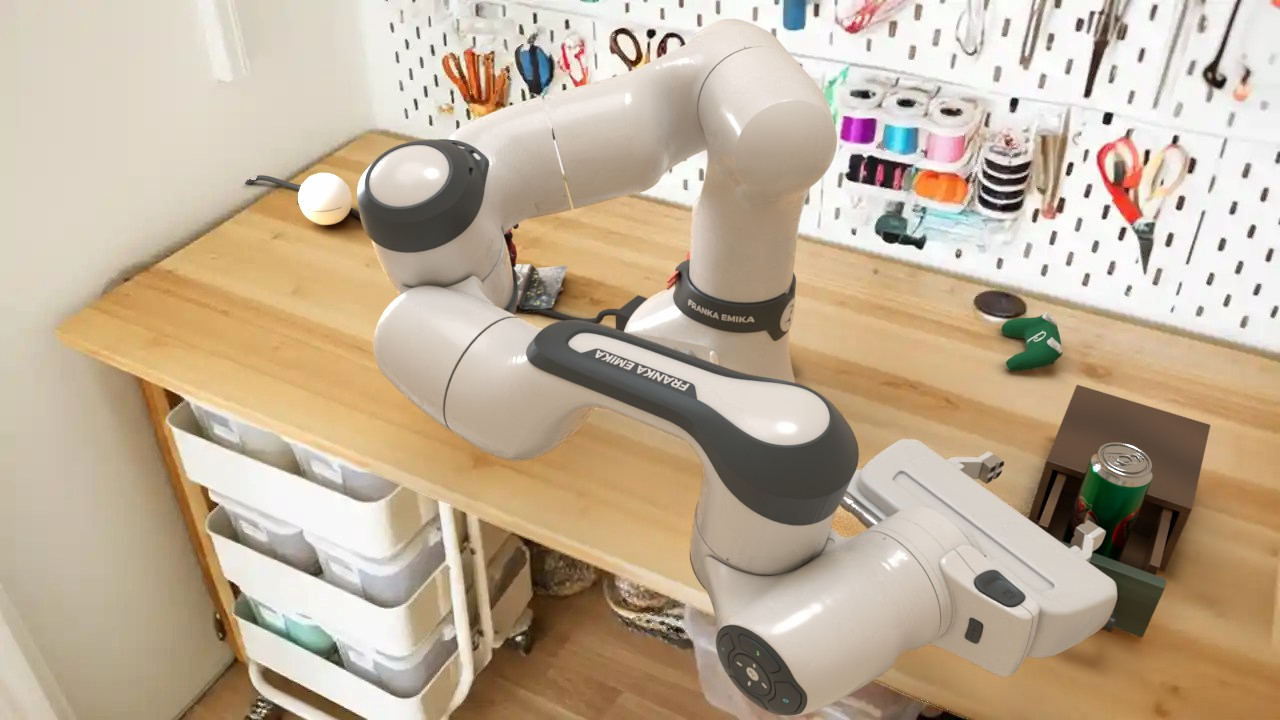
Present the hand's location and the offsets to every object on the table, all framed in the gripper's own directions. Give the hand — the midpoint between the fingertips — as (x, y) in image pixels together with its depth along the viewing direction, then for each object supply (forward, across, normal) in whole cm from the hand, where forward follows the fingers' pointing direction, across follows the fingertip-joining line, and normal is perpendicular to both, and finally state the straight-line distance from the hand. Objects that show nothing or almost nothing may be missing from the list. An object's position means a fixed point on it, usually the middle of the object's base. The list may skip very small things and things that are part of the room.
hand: (1044, 495), depth 82 cm
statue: (-8, -72, -16) cm, 74 cm away
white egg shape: (-22, -102, -16) cm, 106 cm away
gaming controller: (+36, -26, -16) cm, 47 cm away
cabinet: (+22, -4, -16) cm, 27 cm away
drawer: (+10, +1, -15) cm, 18 cm away
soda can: (+12, 0, -14) cm, 18 cm away
